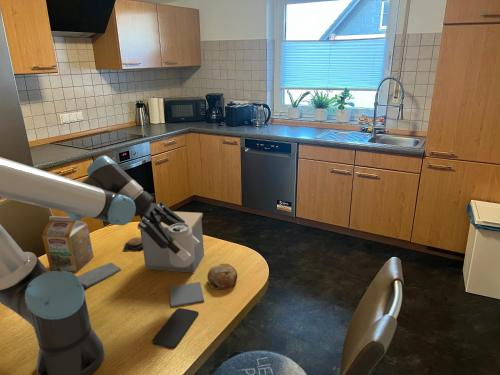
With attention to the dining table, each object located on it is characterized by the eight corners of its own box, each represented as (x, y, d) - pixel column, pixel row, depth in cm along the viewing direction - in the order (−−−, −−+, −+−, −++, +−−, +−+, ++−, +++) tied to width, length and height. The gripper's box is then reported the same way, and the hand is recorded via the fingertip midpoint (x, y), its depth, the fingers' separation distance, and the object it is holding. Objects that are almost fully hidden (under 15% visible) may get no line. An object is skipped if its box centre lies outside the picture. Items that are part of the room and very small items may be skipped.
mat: (204, 301, 114) (204, 299, 114) (171, 307, 112) (170, 305, 112) (200, 283, 124) (200, 281, 123) (169, 288, 121) (169, 286, 121)
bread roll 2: (121, 253, 145) (120, 245, 144) (125, 243, 153) (124, 235, 152) (149, 251, 146) (148, 242, 145) (152, 240, 154) (151, 232, 153)
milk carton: (93, 257, 142) (84, 211, 135) (77, 272, 132) (66, 224, 125) (68, 255, 144) (58, 210, 137) (50, 270, 134) (38, 222, 127)
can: (165, 262, 114) (161, 227, 110) (186, 253, 119) (182, 219, 115) (178, 271, 109) (174, 235, 105) (199, 262, 114) (196, 226, 110)
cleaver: (42, 315, 111) (40, 309, 111) (26, 303, 117) (24, 298, 116) (124, 270, 134) (123, 265, 133) (108, 262, 139) (107, 257, 138)
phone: (200, 311, 109) (174, 347, 96) (200, 314, 110) (174, 350, 96) (177, 307, 112) (149, 341, 98) (178, 309, 112) (150, 344, 99)
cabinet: (193, 275, 128) (189, 230, 122) (142, 270, 132) (136, 226, 126) (205, 254, 141) (202, 213, 135) (158, 251, 145) (153, 210, 139)
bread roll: (206, 292, 125) (198, 279, 120) (219, 267, 131) (212, 253, 126) (232, 299, 121) (225, 286, 116) (244, 273, 127) (238, 259, 122)
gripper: (143, 194, 120) (195, 242, 123) (110, 221, 101) (172, 277, 104) (157, 179, 117) (209, 228, 120) (125, 204, 99) (188, 262, 101)
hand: (192, 251), depth 112 cm, fingers closed on can, 7 cm apart
